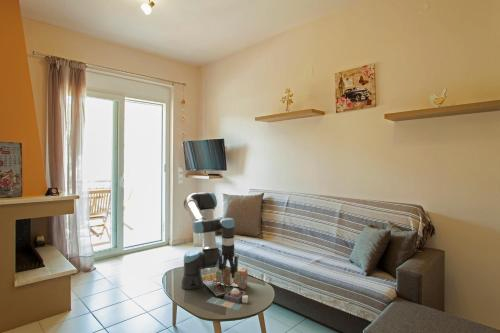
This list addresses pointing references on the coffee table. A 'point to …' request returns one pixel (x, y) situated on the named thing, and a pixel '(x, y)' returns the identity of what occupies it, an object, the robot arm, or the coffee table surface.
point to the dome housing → (234, 299)
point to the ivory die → (245, 298)
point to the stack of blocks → (238, 279)
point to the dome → (235, 292)
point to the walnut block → (226, 276)
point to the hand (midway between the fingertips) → (228, 282)
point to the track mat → (224, 303)
